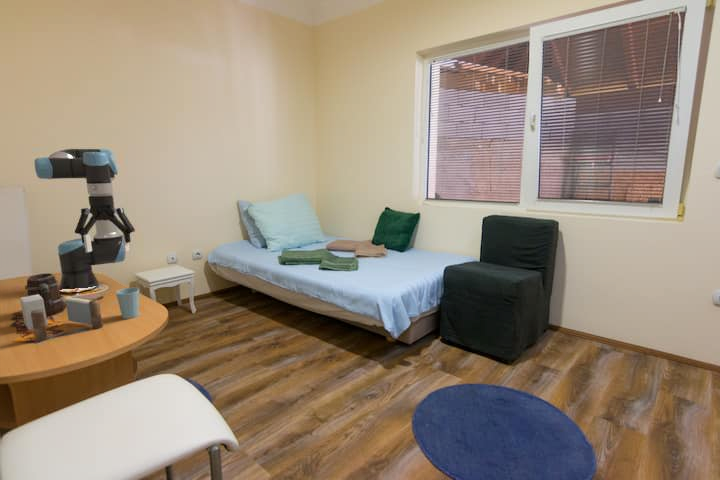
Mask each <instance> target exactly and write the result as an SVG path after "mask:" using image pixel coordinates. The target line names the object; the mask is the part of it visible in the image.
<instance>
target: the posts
mask: <svg viewBox="0 0 720 480" xmlns="http://www.w3.org/2000/svg"><path fill="white" fill-rule="evenodd" d="M100 306H101V305H100V299H93V300H92V301H89V307H90V314H91V321H92V325H91V326H92V327H91V326H90V327H84V328H79V329H74V330H73V329H72V330H70V331H64V332H60V333H55V334H54V333H53V334H50V335H48V332H47V331H48V330H47V326H46V324H45V318H44V312H43V309H40V310H34V311H31V318H32V323H33V329H32V330H33V333H34V340H35V343H36V342H42V341H47V340H48V339H53V338H57V337H62V336H68V335H75V334H77V333H78V334H79V333H82V332H88V331H91V328H92V330H99V329H102V328H103V322H102V312H101V307H100Z"/></svg>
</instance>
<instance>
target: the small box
mask: <svg viewBox="0 0 720 480" xmlns="http://www.w3.org/2000/svg"><path fill="white" fill-rule="evenodd" d="M19 300H20V301H19V302H20V306H21V311H22V317H23V322H24V325H25V326H26V328H27V330H28V331H31V330H34V329H33V323H32V318H31V311H34V310H40V309H43V312H44V318H45V324H46V327H47V326H48V319H47V316H46V312H45V307H44V301H43V298H42V297H41V296H40V295H39V294H37V295H32V296H28V295H27V296H22V297H19Z"/></svg>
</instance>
